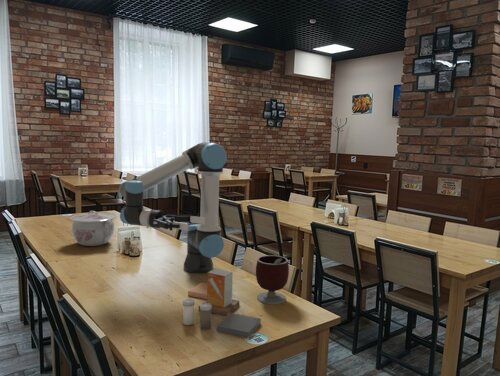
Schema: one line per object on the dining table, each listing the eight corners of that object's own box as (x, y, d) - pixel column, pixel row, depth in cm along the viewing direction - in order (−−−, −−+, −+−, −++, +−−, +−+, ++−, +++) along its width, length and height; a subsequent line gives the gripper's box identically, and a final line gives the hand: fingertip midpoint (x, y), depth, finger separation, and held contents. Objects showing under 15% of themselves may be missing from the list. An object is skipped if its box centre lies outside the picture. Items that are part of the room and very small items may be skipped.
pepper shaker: (203, 323, 153) (203, 302, 152) (213, 325, 152) (213, 304, 151) (197, 328, 149) (197, 306, 148) (207, 330, 148) (208, 308, 147)
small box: (206, 304, 166) (207, 272, 164) (215, 298, 172) (215, 267, 170) (224, 308, 162) (224, 275, 161) (232, 302, 168) (232, 271, 166)
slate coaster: (231, 317, 159) (231, 312, 159) (260, 323, 154) (260, 318, 154) (216, 331, 148) (216, 325, 148) (248, 338, 143) (248, 332, 143)
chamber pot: (71, 239, 268) (70, 207, 265) (116, 237, 276) (116, 206, 273) (66, 251, 241) (65, 215, 238) (116, 248, 249) (116, 214, 247)
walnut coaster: (212, 300, 175) (212, 295, 175) (239, 305, 171) (239, 300, 170) (198, 311, 164) (198, 306, 164) (226, 316, 160) (226, 311, 159)
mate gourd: (250, 294, 183) (251, 249, 180) (279, 291, 187) (280, 247, 185) (264, 308, 168) (265, 260, 166) (295, 304, 173) (296, 257, 171)
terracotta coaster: (201, 286, 191) (201, 282, 190) (225, 290, 186) (225, 286, 186) (187, 295, 180) (187, 291, 179) (212, 300, 175) (212, 295, 175)
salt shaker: (184, 320, 155) (184, 298, 155) (195, 321, 155) (195, 299, 155) (181, 325, 151) (181, 302, 151) (193, 325, 151) (193, 302, 151)
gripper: (169, 221, 193) (210, 226, 185) (134, 232, 170) (179, 239, 162) (169, 205, 192) (210, 210, 184) (134, 214, 169) (179, 220, 161)
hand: (196, 223), depth 173 cm, fingers open, 13 cm apart
